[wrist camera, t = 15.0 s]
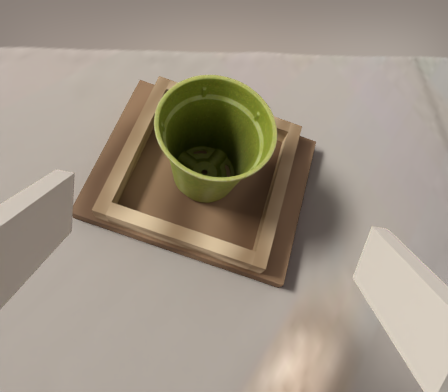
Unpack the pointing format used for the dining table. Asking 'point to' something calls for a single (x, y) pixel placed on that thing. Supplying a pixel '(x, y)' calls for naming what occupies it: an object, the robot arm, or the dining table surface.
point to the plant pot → (214, 134)
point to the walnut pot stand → (193, 210)
